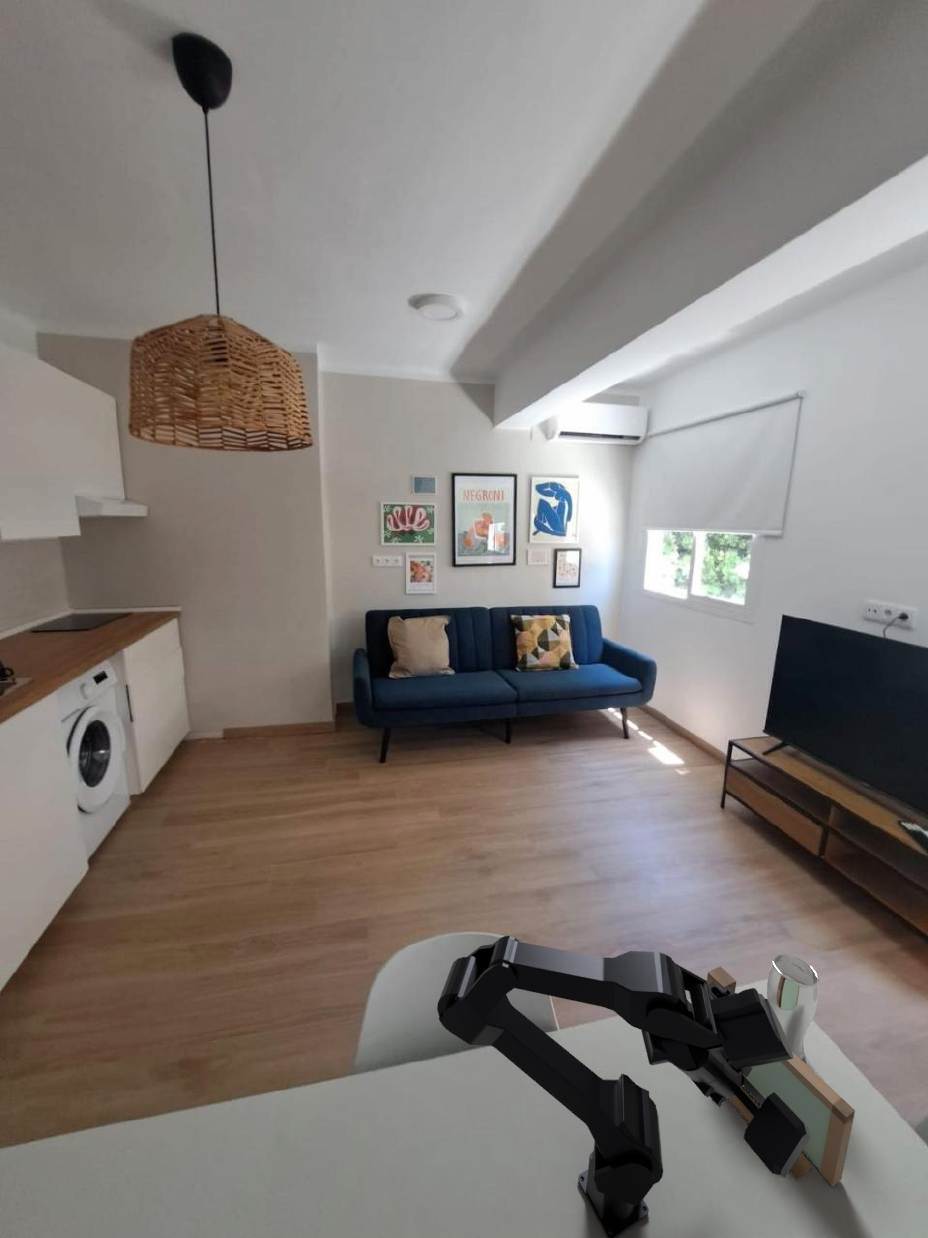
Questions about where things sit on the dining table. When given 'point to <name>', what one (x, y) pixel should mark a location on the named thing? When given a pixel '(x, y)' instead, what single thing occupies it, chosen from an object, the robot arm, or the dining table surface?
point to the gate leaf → (810, 1111)
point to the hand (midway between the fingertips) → (741, 1089)
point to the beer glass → (793, 997)
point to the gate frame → (801, 1163)
